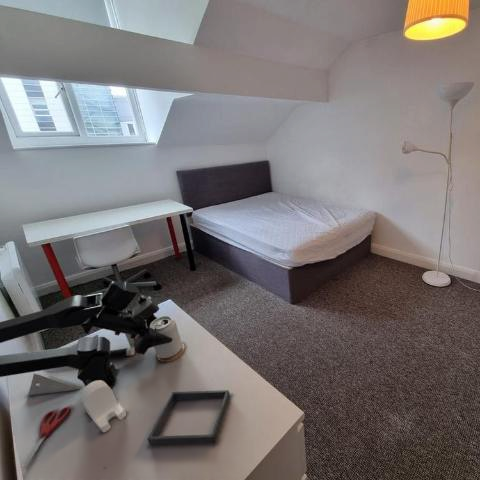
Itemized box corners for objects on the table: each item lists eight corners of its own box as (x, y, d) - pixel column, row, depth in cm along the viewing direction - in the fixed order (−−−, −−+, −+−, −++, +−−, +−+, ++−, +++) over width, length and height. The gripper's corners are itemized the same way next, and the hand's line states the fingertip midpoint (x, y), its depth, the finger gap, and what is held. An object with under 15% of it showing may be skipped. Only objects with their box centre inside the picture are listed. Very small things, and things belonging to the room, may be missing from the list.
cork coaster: (156, 365, 84) (155, 364, 83) (159, 347, 90) (158, 346, 90) (184, 356, 86) (183, 355, 86) (185, 340, 93) (184, 338, 93)
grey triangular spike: (93, 372, 82) (48, 367, 81) (81, 378, 77) (33, 373, 76) (88, 392, 81) (43, 388, 80) (76, 399, 76) (27, 395, 75)
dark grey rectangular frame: (150, 445, 62) (147, 439, 61) (174, 398, 73) (172, 391, 72) (215, 443, 62) (213, 437, 61) (230, 396, 73) (228, 390, 72)
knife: (130, 359, 86) (137, 348, 90) (128, 353, 85) (135, 342, 89) (39, 374, 82) (51, 361, 87) (35, 368, 81) (47, 356, 86)
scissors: (46, 411, 70) (48, 414, 70) (7, 471, 58) (10, 473, 58) (71, 405, 71) (72, 407, 72) (38, 461, 59) (40, 464, 60)
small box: (143, 348, 90) (135, 329, 87) (130, 348, 90) (122, 330, 87) (151, 336, 95) (145, 319, 92) (139, 337, 95) (132, 319, 92)
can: (186, 350, 88) (177, 321, 83) (161, 364, 83) (150, 334, 78) (178, 339, 93) (169, 311, 88) (154, 350, 88) (144, 321, 83)
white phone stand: (109, 396, 74) (96, 370, 70) (127, 414, 69) (113, 388, 65) (87, 412, 70) (71, 386, 66) (103, 433, 65) (87, 406, 61)
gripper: (136, 313, 70) (191, 328, 80) (132, 282, 84) (179, 298, 94) (109, 350, 69) (168, 360, 79) (110, 312, 83) (160, 325, 93)
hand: (169, 333), depth 86 cm, fingers closed on can, 7 cm apart
